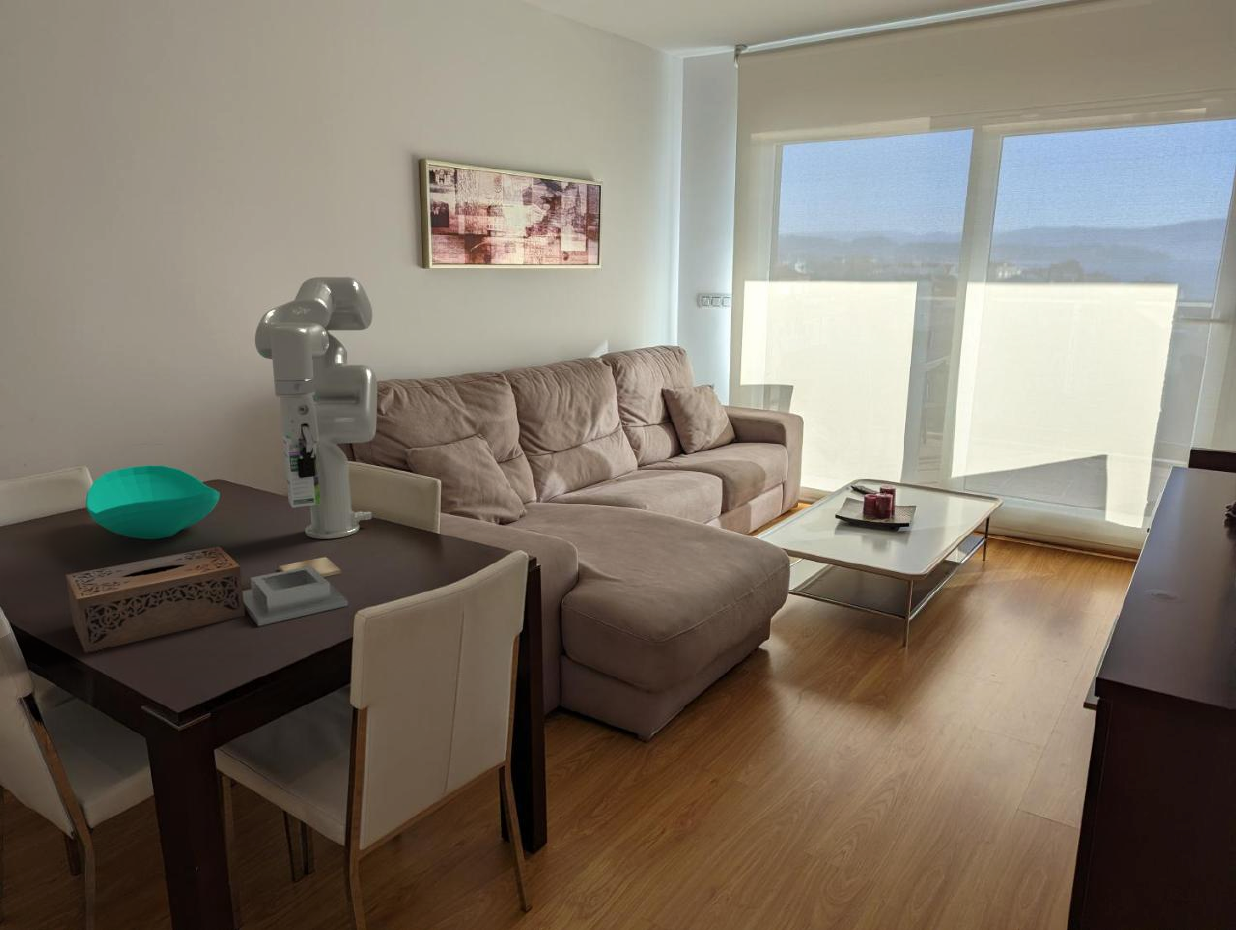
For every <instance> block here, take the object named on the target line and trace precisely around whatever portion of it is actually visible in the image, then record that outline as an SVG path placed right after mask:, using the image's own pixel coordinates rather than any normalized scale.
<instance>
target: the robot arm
mask: <svg viewBox="0 0 1236 930" xmlns="http://www.w3.org/2000/svg"><path fill="white" fill-rule="evenodd" d="M372 320H373V309H372V305H371V302H370V299H369V297H368V295H367V293H366V291H365V288H364V287H363V285H362V284H361V282H360V281H358V280H357V279H355V278H354V277H350V276H349V277H348V276H344V277H342V276H337V277H336V276H333V277H331V276H318V277H310V278H308V279H306V280H305V281H303V283H302V284H301V286H300V288H299V290H298V292H297V294H296V295H295V298H294V300H291V301H288V302H286V303H284V304H281V305H279V306H276V307H274V308H272V309H269V310H268V311H266V312H265V313H264V314H263V315H262V317H261V318H260V320H259V321H258V325H257V327H256V330H255V334H254V345H255V348H256V352H257V353H258V354H259V355H260V356H261V357H262V358H263V359H268V360H272V369H273V383H274V392H275V396H276V397H279V405H280V407H279V409H280V423H281V433H282V437H283V436H287V437H289V438H290V439H291V440H292V443H293V444H295V445H296V446H297V451H298V456H299V458H298V459H297V465H298V476H299V477H300V478H305V477H313V476H315V467H314V453H313V441H315V442H314V443H315V445H316V457H317V470H318V482H319V493H320V505H311V506H309V509H310V510H309V511H310V522H311V524H309V525H308V526H306V528H305V529H304V532H305V535H306V536H307V537H309V538H314V539H319V540H323V539H325V540H326V539H339V538H344V537H348V536H350V535H354V534H356V533H357V532H358V531H359V530H360V524H359V523H360V521H368V520H371V519H372V518H373V515H372V512H371V511H362V510H361V511H359V510H358V511H356V512H355V511H354V510H352V501H351V500H352V499H351V498H352V497H351V487H350V471H349V461H348V458H347V455H346V454H345V453H344V452H343V449H341V448H340V447H339V446H338V445H337V444H340V445H341V444H360V443H368V442H371V441H372V440H373V439H374V438H375V435H376V431H377V419H378V418H377V413H378V411H377V410H378V382H377V377H376V374H375V372H374V370H373V369H372V368H371V367H369V366H368V365H363V364H360V365H359V364H347V363H348V352H347V350H346V348H345V347H344V345H343V344H342V343H341V341H339V340H338V339H337V337H335V336H334V335H333V334H332V333H330V332H329V331H363V330H367V329H368V328H369V327H370V326H371V324H372ZM298 438H299V439H298ZM312 439H313V440H312ZM299 441H305V443H300V442H299ZM301 447H303V449H302V450H301Z"/></svg>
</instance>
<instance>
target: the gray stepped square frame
mask: <svg viewBox="0 0 1236 930" xmlns="http://www.w3.org/2000/svg"><path fill="white" fill-rule="evenodd" d="M250 584H251V589H247V590H242V591H243V600H244V610H245V612H247V613H248V614H249V616H250V617H251V618H252V620H253V621H254V622H255V624H256V625H257V626H258V627H262V626H266V625H271V624H274V623H278V622H283V621H287V620H292V619H298V618H300V617H304V616H309V615H313V614H319V613H322V612H326V611H327V612H328V611H331V610H335V609H340V608H344V607H347V606H348V605H349V603H348V599H347V598H346V597H345V596H344V595H342V594H341V592H339V591H338V590H337V589H336V588H335V587H334V586H333V585H332V584H331V583H330V581H328V580H327V579H326V578H325V577H323V576H322V575H321V574H320V573H318V572H317V571H316V570H315V569H314V568H313V567H312V566H307V567H302V568H297V569H292V570H287V571H282V572H281V571H278V572H272V573H268V574H262V575H257V576H253V577H250Z"/></svg>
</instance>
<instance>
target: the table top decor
mask: <svg viewBox="0 0 1236 930" xmlns="http://www.w3.org/2000/svg"><path fill="white" fill-rule="evenodd" d="M220 495H221V494H220V492H219V491H218V490H216V489H214V488H212V487H210V486H208V485H206V484H205V483H203V482H202V481H201V480H199V479H198V478H197V477H196V476H194V475H192V474H190V473H188V472H186V471H183V470H181V469H180V468H179V469H178V468H175V467H172V466H166V465H149V464H148V465H139V466H137V465H136V466H131V467H125V468H118V469H115V470H112V471H109V472H106V473H104V474H103V475H101V476H100V477H99V478H96V480H94V481H93V482H92V484H91V486H90V487H89V489H88V491H87V493H86V500H85V507H86V509H87V512H88V513H89V515H90V518H91V519H93V521H95V522H96V523H97V524H98V525H99V526H101V527H103V528H105V529H107V530H108V531H110V532H112V533H114V534H116V535H121V536H124V537H129V538H137V539H144V540H145V539H147V540H156V539H163V538H167V537H168V538H169V537H172V536H174V535H176V534H178V533H179V532H180V531H181V530H184V529H186V528H189V527H191V526H193V525H194V524H196V523H198V522H199V521H201V520H203V519H204V518H206V517H207V515H209V514H210V513H211V512H212V511H213V510H214V509H215V507H216V506H217V504H218V503H219V500H220Z"/></svg>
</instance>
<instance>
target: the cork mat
mask: <svg viewBox="0 0 1236 930" xmlns="http://www.w3.org/2000/svg"><path fill="white" fill-rule="evenodd" d="M307 566H312V567H313V568H314V569H315V570H316V571H317V572H318V573H320V574H321V575H322V576H323V577H324V578H325V577H330V576H335V575H341V574H342V570H341V568H339V567H338V566H337V565H336V564H335V563H334V562H332V560H330V559H329V558H327V556H324V557H320V558H319V557H318V558H314V559H308V560H303V561H299V562H293V563H289V564H283V565H279V566H278V568H279V572H282V571H287V570H292V569H297V568H302V567H307Z"/></svg>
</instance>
